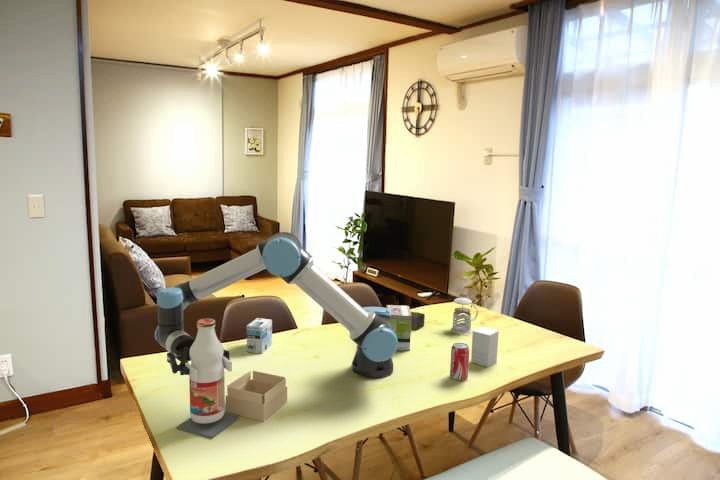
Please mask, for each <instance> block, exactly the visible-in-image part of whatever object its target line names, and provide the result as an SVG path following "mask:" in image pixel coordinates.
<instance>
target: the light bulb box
mask: <svg viewBox="0 0 720 480" xmlns="http://www.w3.org/2000/svg"><path fill="white" fill-rule="evenodd" d="M272 345H273V320H272V319H268V318H260V317H257V318H255V319H254V320H253V321H251V322H250V323H248V324H247V325H246V352H247V353H255V354H263V353H265V351H267V350H268V349H269V348H270V347H271V346H272Z"/></svg>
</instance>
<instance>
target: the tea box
mask: <svg viewBox="0 0 720 480" xmlns="http://www.w3.org/2000/svg"><path fill="white" fill-rule="evenodd" d="M385 308H387V309H389V310H390V312H391V318H390V324H391V326H392V328H393V330H394V332H395V333H396V336H397V339H398V347H397V350H396V351H410V349H411V336H412V334H411V333H412V329H411V321H412V316H411V312H412V311H411V309H410V308H411V307H410V306H409V305H398V304H395V305H394V304H386V307H385ZM410 311H411V312H410Z"/></svg>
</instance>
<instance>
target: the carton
mask: <svg viewBox="0 0 720 480" xmlns="http://www.w3.org/2000/svg"><path fill="white" fill-rule="evenodd" d="M251 374H252V376H251ZM251 377H252V378H251ZM226 387H227V391H226V393H227V395H225V413H228V414H232V415H236V416H241V417H245V418H248V419H251V420H252V419H253V420H256V421H260V422H265V421H267V420H268V418H270V417H271V416H272V415H273V414H275V413H276V412H277V411H278V410H279V409H280V408H283V406H284V405H285V404H286V403H287V402H288V386H287V379H286V377H285V376H281V375H278V374H277V375H276V374H272V373H268V372H267V373H266V372H262V371H257V370H252V373H251V370H248V371H247V372H246V373H244V374H243V375H241V376H240V377H239V378H237V379H235V380H234V381H232V382H230V383H229V384H228V385H227V386H226ZM263 399H264V401H263Z"/></svg>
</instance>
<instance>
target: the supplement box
mask: <svg viewBox="0 0 720 480" xmlns="http://www.w3.org/2000/svg"><path fill="white" fill-rule="evenodd" d="M471 339H472V340H471V352H470V353H471V357H470V362H471V363H473V364H476V365H480V366H483V367H487V368H489V367H491V366H492V365H494V364H496V363H497V361H498V359H497V358H498V346H499V330H496V329H493V328H490V327H489V328H488V327H485V326H480V327H478V328H476V329H474V330H472V337H471Z"/></svg>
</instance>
